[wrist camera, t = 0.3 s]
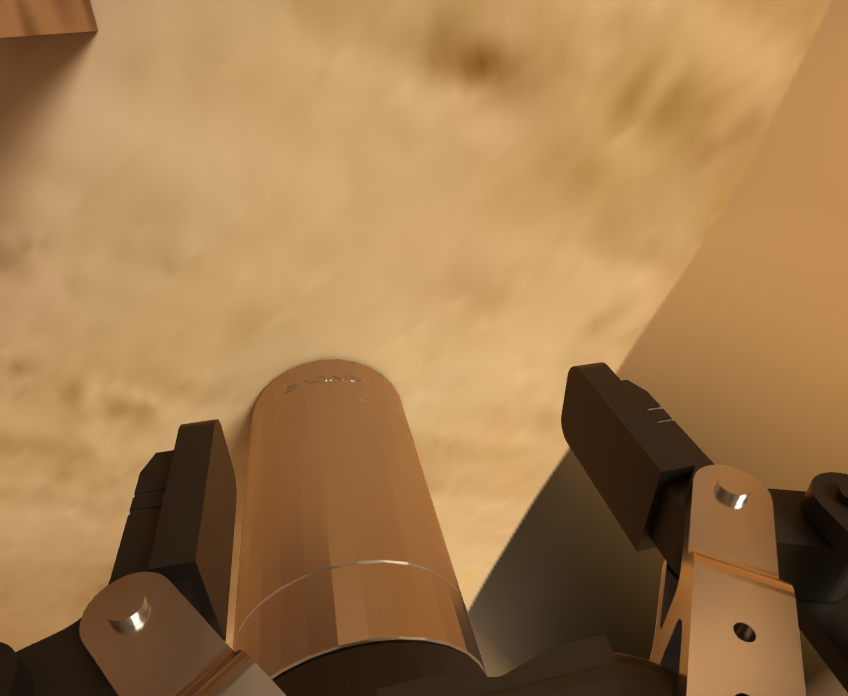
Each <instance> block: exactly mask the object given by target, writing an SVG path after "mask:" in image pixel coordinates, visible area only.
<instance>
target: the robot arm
mask: <svg viewBox="0 0 848 696" xmlns="http://www.w3.org/2000/svg"><path fill="white" fill-rule="evenodd" d="M561 424H562V430H563V434H564V437H565V439H566V441H567V443H568V445H569V446H570V448H571V449H572V451H573V453H574V454H575V456H576V457H577V459H578V460H579V462H580V463H581V465H582V467H583V468H584V470H585V471H586V473H587V474H588V476H589V477H590V479H591V480H592V482H593V483H594V485H595V487H596V488H597V490H598V491H599V493H600V495H601V496H602V498H603V499H604V501H605V502H606V504H607V505H608V507H609V509H610V510H611V512H612V513H613V515H614V516H615V518H616V519H617V521H618V523H619V524H620V526H621V527H622V529H623V530H624V532H625V534H626V535H627V537H628V538H629V540H630V541H631V543H632V544H633V546H634V547H635V549H636V551H642V550H647V549H651V548H656V547H657V548H658V550H659V551H660V553H661V554H662V556H663V557H664V559H665V561H664V564H663V568H662V577H661V587H660V595H659V603H658V612H657V620H656V629H655V638H654V644H653V649H652V653H651V657H650V660H647V659H643V658H640V657H636V656H633V655H627V654H621V653H614V652H613V650H612V648H611V646H610V645H609V642H608V640H607V639H606V636H605V635H601V636H597V637H593V638H589V639H585V640H580V641H576V642H572V643H568V644H564V645H559V646H555V647H552V648H550V649H548V650H546V651H545V652H543V653H541V654H539V655H538V656H536V657H535V658H533V659H531V660H529V661H528V662H526V663H524V664H522V665H521V666H519V667H517V668H515V669H514V670H512V671H510V672H509V673H507V674H505V675H503V676H500V677H487V673H486V671H485V667H484V664H483V661H482V658H481V654H480V651H479V648H478V645H477V642H476V638H475V635H474V632H473V629H472V626H471V623H470V619H469V616H468V613H467V610H466V606H465V604H464V601H463V598H462V595H461V592H460V589H459V585H458V582H457V579H456V576H455V573H454V569H453V566H452V563H451V560H450V557H449V553H448V550H447V547H446V544H445V541H444V537H443V534H442V531H441V528H440V525H439V521H438V518H437V515H436V512H435V509H434V505H433V502H432V499H431V496H430V493H429V489H428V486H427V483H426V480H425V477H424V473H423V470H422V467H421V464H420V461H419V457H418V454H417V451H416V448H415V445H414V441H413V438H412V434H411V431H410V428H409V425H408V422H407V419H406V416H405V413H404V409H403V406H402V403H401V400H400V397H399V395H398V393H397V392H396V390H395V388H394V387H393V385H392V384H391V383H390V382H389V381H388V380H387V379H386V378H385V377H384V376H383V375H382V374H380V373H378V372H377V371H375V370H373V369H372V368H370V367H368V366H365V365H362V364H359V363H356V362H352V361H345V360H319V361H315V362H310V363H305V364H302V365H300V366H298V367H295V368H293V369H290V370H288V371H286V372H285V373H283V374H282V375H280V376H279V377H277V378H276V379H274V380H273V381H272V382H271V383H270V384H269V385H268V386H267V387H266V388H265V389H264V390H263V392H262V393H261V395H260V397H259V398H258V400H257V401H256V403H255V406H254V409H253V412H252V415H251V424H250V437H249V449H248V461H247V470H246V483H245V496H244V509H243V522H242V535H241V548H240V561H239V574H238V587H237V600H236V613H235V626H234V639H233V650H232V649H231V648H230V647H229V646H228V645H227V644H226V643H225V642H224V641H225V640H226V627H227V614H228V601H229V589H230V576H231V563H232V550H233V537H234V524H235V511H236V481H235V475H234V470H233V467H232V463H231V459H230V456H229V452H228V448H227V445H226V441H225V438H224V434H223V430H222V427H221V424H220V422H219V420H218V419H216V420H209V421H202V422H195V423H189V424H182V425H180V427H179V430H178V435H177V439H176V444H175V448H174V450H172V451H166V452H159V453H156V454H155V455H154V456H153V457H152V459H151V460H150V461H149V462H148V464H147V465H146V466H145V467H144V469H143V470H142V471H141V472H140V475H139V479H138V482H137V486H136V490H135V493H134V494H135V498H133V500H132V504H131V507H130V515H128V518H127V522H126V525H125V529H124V532H123V536H122V539H121V543H120V547H119V550H118V554H117V557H116V561H115V564H114V568H113V571H112V575H111V579H110V581H109V584H108V586H106V587H105V588H104V589H102V590H101V591H100V592H99V593H98V594H97V595H96V596H95V597H94V598H93V599H92V601H91V602H90V603H89V604H88V606H87V608H86V609H85V611H84V613H83V615H82V618H80V619H79V620H78V621H77V622H75V623H74V624H72V625H70V626H69V627H67V628H65V629H64V630H62V631H60V632H58V633H56V634H54V635H51V636H49V637H47V638H45V639H43V640H41V641H39V642H36V643H34V644H32V645H30V646H28V647H26V648H24V649H21V650H19V651H17V652H15V651H14V650H13V649H12V648H11V647H10V646H9V645H7V644H4V643H2V642H0V696H806V692H805V683H804V673H803V664H802V655H801V645H800V636H799V629H800V630H801V631H802V633H803V634H804V635H805V636H806V638H807V639H808V641H809V642H810V643H811V644H812V646H813V647H814V648H815V650H816V651H817V652H818V654H819V655H820V656H821V658H822V659H823V660H824V662H825V663H826V664H827V666H828V667H829V668H830V670H831V671H832V672H833V674H834V675H835V676H836V678H837V679H838V680H839V682H840V683H841V684H842V686H843V687H844V688H845V690H846V691H847V692H848V475H847V474H842V473H834V472H829V473H823V474H819V475H817V476H816V477H815V478H813V480H812V482H811V484H810V486H809V488H808V490H807V492H803V491H791V490H779V489H767V488H766V487H765V486H764V485H763V484H762V483H761V482H760V481H759V480H758V479H757V478H755V477H754V476H752V475H751V474H749V473H747V472H745V471H743V470H740V469H738V468H735V467H731V466H726V465H714V464H713V462H712V461H711V460H710V459H709V458H708V457H707V456H706V455H705V454H704V453H703V452H702V451H701V449H700V448H699V447H698V446H697V445H696V444H695V443H694V442H693V441H692V440H691V439H690V438H689V437H688V435H687V434H686V433H685V432H684V431H683V430H682V429H681V428H680V427H679V426H678V424H677V423H676V422H675V421H672V420H671V417H670V416H669V415H668V414H667V413H666V411H665V410H664V409H661V408H660V405H659V404H658V403H657V402H656V401H655V400H654V399H653V397H652V396H651V395H650V394H649V393H648V392H647V391H645V390H644V389H642V388H640V387H638V386H637V385H635V384H633V383H631V382H630V381H628V380H623V381H621V380H620V379H619V378H618V377H617V376H616V374H615V373H614V372H613V371H612V370H611V369H610V368H609V367H608V366H607V365H606V364H605V363H602V362H601V363H594V364H587V365H580V366H573V367H571V368H570V370H569V372H568V377H567V384H566V390H565V396H564V403H563V409H562V416H561Z"/></svg>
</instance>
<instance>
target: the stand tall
mask: <svg viewBox="0 0 848 696" xmlns="http://www.w3.org/2000/svg"><path fill="white" fill-rule="evenodd" d="M89 31H98V28H97V25H96V21H95V17H94V14H93V10H92V7H91V3H90V0H0V38H5V37H19V36H33V35H47V34H61V33H75V32H89Z"/></svg>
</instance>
